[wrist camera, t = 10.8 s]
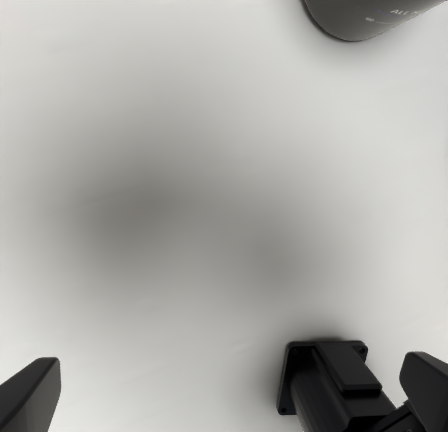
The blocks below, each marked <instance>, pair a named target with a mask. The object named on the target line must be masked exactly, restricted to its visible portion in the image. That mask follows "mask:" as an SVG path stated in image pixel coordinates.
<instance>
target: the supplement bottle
mask: <svg viewBox="0 0 448 432" xmlns="http://www.w3.org/2000/svg"><path fill="white" fill-rule="evenodd" d="M445 1H447V0H305V3H306V5H307V8H308V10H309V12H310V13H311V15H312V17H313V18H314V20H315V21H316V22H317V23H318V24H319V25H320V26H321V27H322V28H323V29H324V30H325V31H326V32H328V33H329V34H331V35H333V36H335V37H337V38H340V39H343V40H349V41H359V40H365V39H369V38H372V37H375V36H377V35H379V34H381V33H384V32H386V31H388V30H390V29H392V28H394V27H396V26H398V25H400V24H402V23H404V22H406V21H408V20H410V19H412V18H414V17H416V16H418V15H420V14H421V13H423V12H425V11H427V10H429V9H431V8H433V7H435V6H437V5H439V4H441V3H443V2H445Z"/></svg>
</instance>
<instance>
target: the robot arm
mask: <svg viewBox="0 0 448 432" xmlns="http://www.w3.org/2000/svg"><path fill="white" fill-rule="evenodd" d="M294 349H296V350H294ZM292 350H294V351H292ZM367 353H368V348H367V346H366V345H365V344H364V343H363V342H301V343H291V344H289V345H288V346H287V349H286V355H285V361H284V366H283V372H282V377H281V383H280V389H279V394H278V400H277V406H276V407H277V411H278V413H279V414H280V415H298V418H299V420H300V423H301V425H302V428H303V430H304V432H448V364H447V363H445V362H443V361H441V360H439V359H437V358H435V357H433V356H431V355H429V354H427V353H425V352H408V353H407V354H406V355H405V358H404V362H403V365H402V368H401V371H400V375H399V380H400V384H401V386H402V388H403V390H404V392H405V393H406V395H407V397H408V400H406V401H405V402H403V403H404V405H402V406H400V407H399V408H397V409H396V407H395V406H394V405H393V403H392V402H391V401H390V400H389V398H388V397H387V396H386V395H385V393H384V392H383V391H382V385H381V383H380V382H379V381H378V380H377V378H376V377H375V376H374V375H373V373H372V372H371V371H370V370H369V368H368V367H367V366H366V364H365V360H366V356H367ZM60 392H61V374H60V361H59V359H58V358H56V357H42V358H38V359H36V360H35V361H33V362H32V363H30V364H29V365H28V366H26V367H25V368H23V369H22V370H21V371H19V372H18V373H16V374H15V375H14V376H12V377H11V378H9V379H8V380H7V381H5V382H4V383H3V384H1V385H0V432H48V429H49V426H50V423H51V420H52V417H53V415H54V412H55V409H56V406H57V403H58V400H59V397H60Z"/></svg>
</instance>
